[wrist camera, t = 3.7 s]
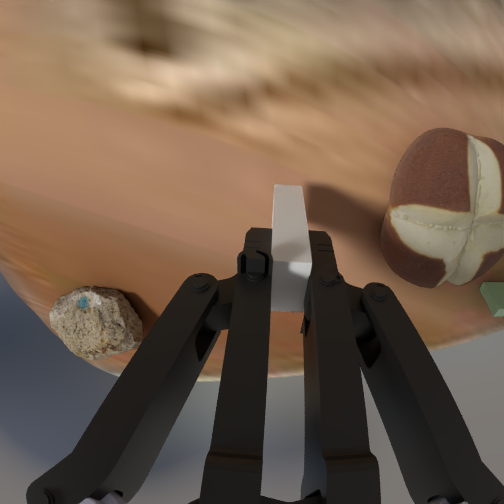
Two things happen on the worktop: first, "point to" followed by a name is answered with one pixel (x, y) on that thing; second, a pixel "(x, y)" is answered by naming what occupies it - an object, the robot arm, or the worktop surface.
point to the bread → (446, 209)
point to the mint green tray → (494, 297)
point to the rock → (96, 322)
